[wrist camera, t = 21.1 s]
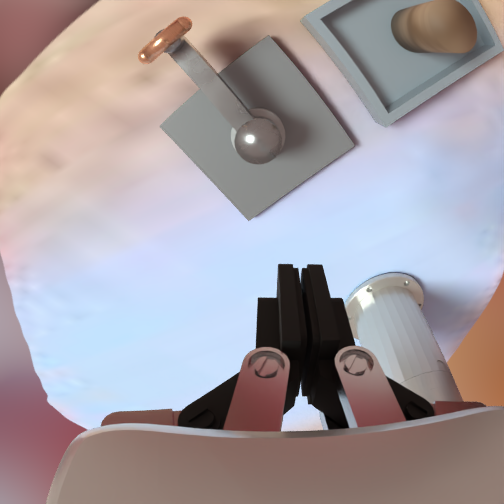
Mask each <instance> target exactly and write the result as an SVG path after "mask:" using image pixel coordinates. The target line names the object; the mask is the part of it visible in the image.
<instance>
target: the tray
mask: <svg viewBox="0 0 504 504" xmlns="http://www.w3.org/2000/svg"><path fill="white" fill-rule="evenodd" d="M429 1H433V0H330V1H329V2H327V3H325V4H324V5H322V6H320V7H319V8H317V9H315V10H314V11H312V12H310V13H309V14H307V15H306V16H304V17H303V18H302V19H301V21H300V22H301V23H302V24H303V25H304V26H305V27H306V28H307V30H308V31H309V32H310V33H311V34H312V36H313V37H314V38H315V39H316V40H317V42H318V43H319V44H320V45H321V46H322V48H323V49H324V50H325V51H326V53H327V54H328V55H329V57H330V58H331V59H332V60H333V62H334V63H335V64H336V66H337V67H338V68H339V70H340V71H341V72H342V74H343V75H344V76H345V78H346V79H347V81H348V82H349V83H350V85H351V86H352V88H353V89H354V90H355V92H356V93H357V95H358V96H359V98H360V99H361V101H362V102H363V104H364V105H365V107H366V108H367V110H368V111H369V113H370V114H371V116H372V117H373V119H374V120H375V122H376V123H378V124H380V125H382V126H384V127H387V126H389V125H390V124H392V123H393V122H395V121H396V120H398V119H399V118H401V117H402V116H404V115H405V114H407V113H408V112H410V111H411V110H413V109H414V108H416V107H417V106H419V105H420V104H422V103H423V102H425V101H426V100H428V99H429V98H431V97H432V96H434V95H435V94H437V93H438V92H440V91H441V90H443V89H444V88H446V87H447V86H449V85H451V84H452V83H454V82H455V81H457V80H458V79H460V78H461V77H463V76H464V75H466V74H468V73H469V72H471V71H472V70H474V69H475V68H477V67H478V66H480V65H482V64H483V63H485V62H486V61H488V60H489V59H491V58H493V57H494V56H496V55H497V54H499V53H501V52H502V51H504V49H503V47H502V45H501V42H500V40H499V38H498V36H497V34H496V32H495V30H494V28H493V26H492V24H491V22H490V21H489V19H488V17H487V15H486V13H485V11H484V10H483V8H482V6H481V4H480V3H479V1H478V0H456V1H458V2H459V3H461V4H462V5H463V6H464V7H466V9H467V10H468V11H469V12H470V14H471V15H472V17H473V19H474V21H475V24H476V28H477V40H476V43H475V45H474V47H473V48H472V49H471V50H470V51H469V52H466V53H414V52H410V51H408V50H406V49H404V48H403V47H401V46H400V45H399V44H398V42H397V41H396V40H395V38H394V36H393V34H392V30H391V20H392V17H393V16H394V14H395V13H396V12H397V11H399V10H401V9H405V8H408V7H411V6H415V5H418V4H422V3H425V2H429Z"/></svg>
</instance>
